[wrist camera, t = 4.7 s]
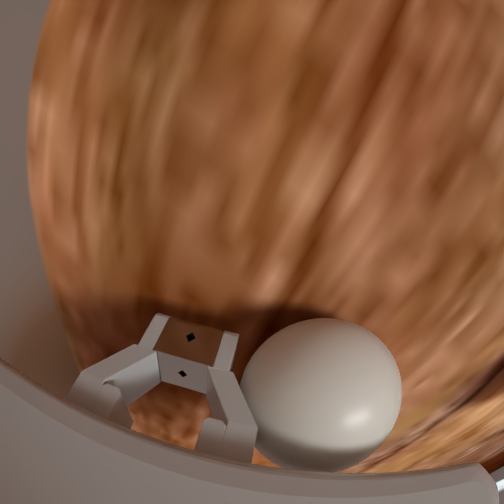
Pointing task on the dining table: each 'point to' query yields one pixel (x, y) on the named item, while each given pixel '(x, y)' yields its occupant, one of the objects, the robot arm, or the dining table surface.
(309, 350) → the cue ball
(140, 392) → the robot arm
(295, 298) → the dining table surface
